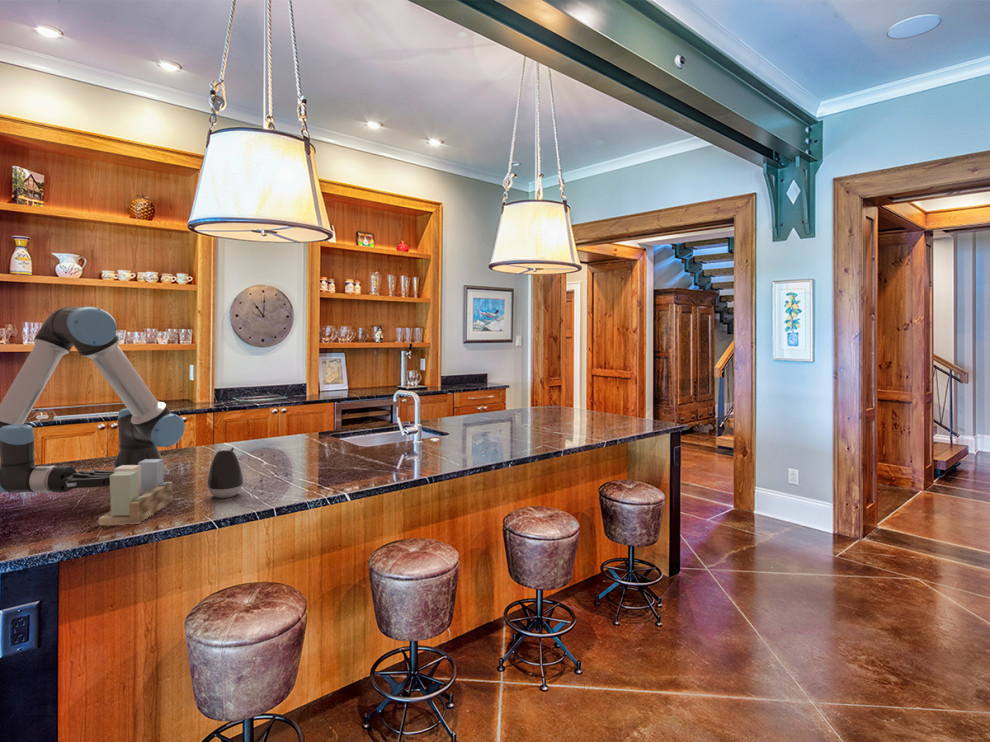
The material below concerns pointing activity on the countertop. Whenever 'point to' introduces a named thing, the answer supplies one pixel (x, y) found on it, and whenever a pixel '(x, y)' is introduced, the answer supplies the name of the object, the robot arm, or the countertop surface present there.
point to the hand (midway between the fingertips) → (140, 478)
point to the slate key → (151, 474)
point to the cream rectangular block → (127, 469)
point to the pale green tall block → (123, 492)
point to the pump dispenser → (225, 474)
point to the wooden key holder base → (142, 506)
